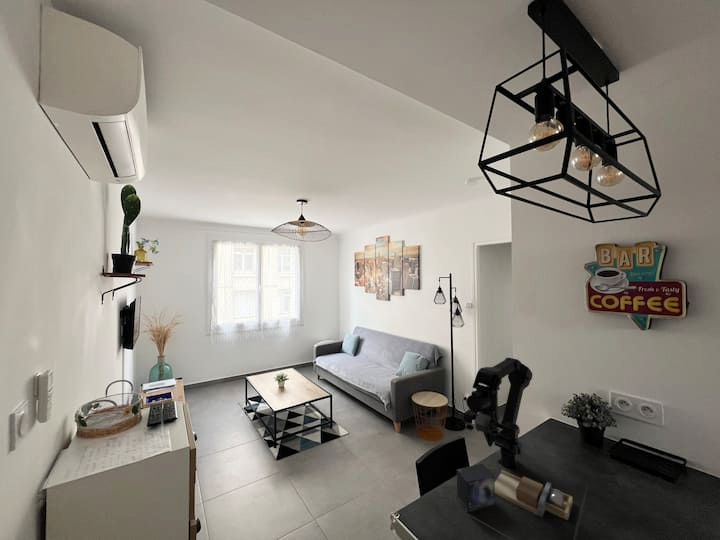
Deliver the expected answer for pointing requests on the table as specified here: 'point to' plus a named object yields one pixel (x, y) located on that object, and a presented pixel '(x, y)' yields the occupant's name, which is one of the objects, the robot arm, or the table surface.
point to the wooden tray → (507, 490)
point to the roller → (556, 498)
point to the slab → (529, 492)
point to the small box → (475, 487)
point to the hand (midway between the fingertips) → (490, 446)
